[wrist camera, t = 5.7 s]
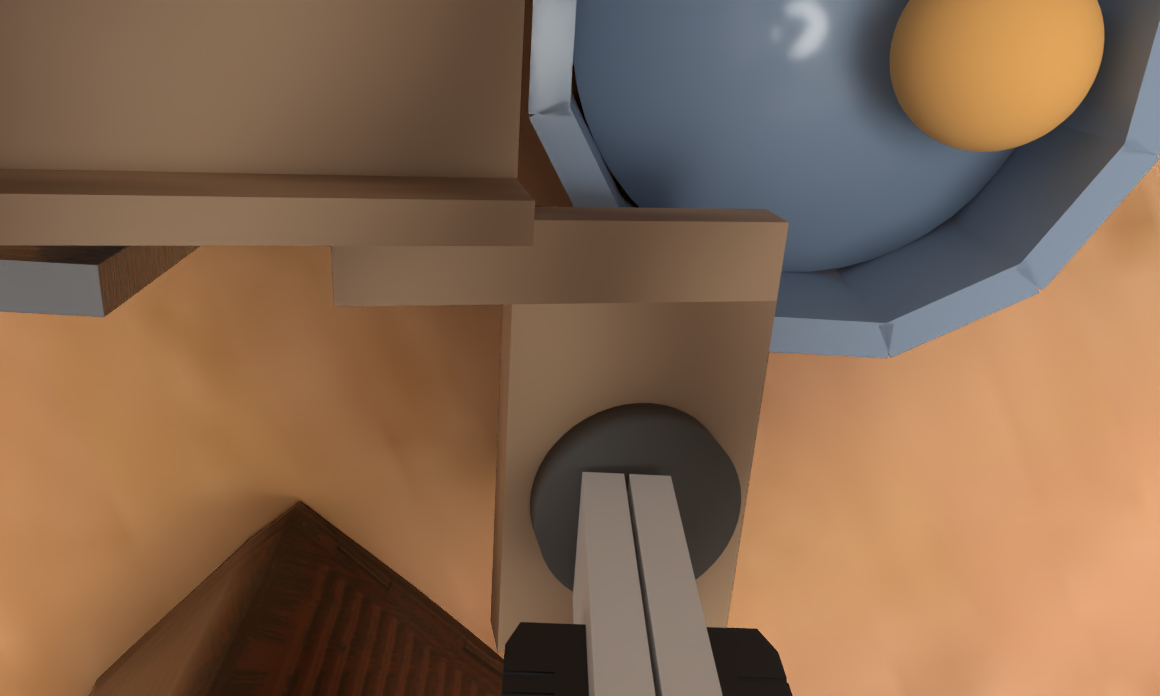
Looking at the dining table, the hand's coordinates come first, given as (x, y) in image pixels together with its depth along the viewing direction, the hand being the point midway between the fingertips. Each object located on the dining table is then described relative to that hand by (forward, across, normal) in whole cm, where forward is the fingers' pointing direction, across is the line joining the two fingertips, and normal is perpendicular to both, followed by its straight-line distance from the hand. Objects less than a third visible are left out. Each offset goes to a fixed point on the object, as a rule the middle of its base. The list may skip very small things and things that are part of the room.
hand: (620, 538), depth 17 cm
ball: (+5, +7, +9) cm, 12 cm away
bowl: (+8, +4, +9) cm, 12 cm away
